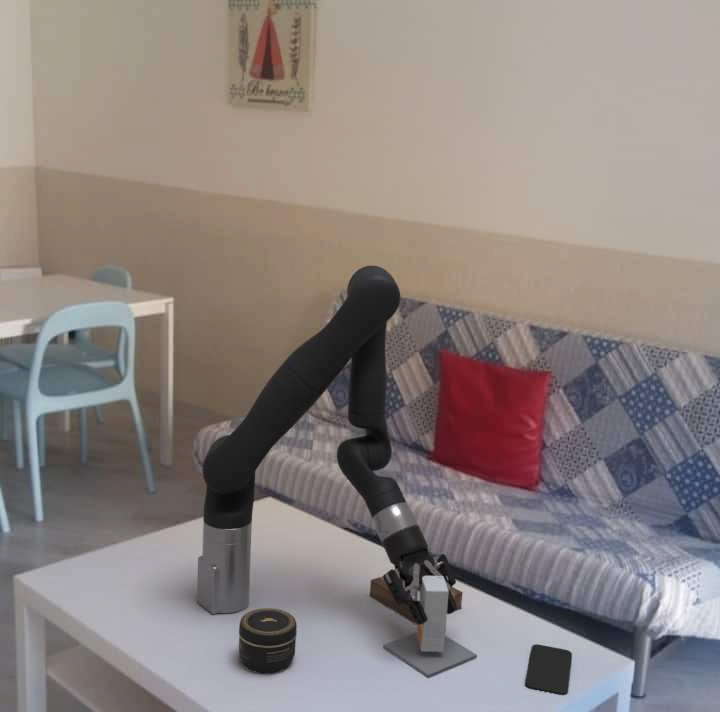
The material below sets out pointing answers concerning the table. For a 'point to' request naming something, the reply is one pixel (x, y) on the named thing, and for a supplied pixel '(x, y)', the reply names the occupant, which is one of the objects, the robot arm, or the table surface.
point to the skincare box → (433, 613)
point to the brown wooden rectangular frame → (384, 596)
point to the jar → (267, 640)
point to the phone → (548, 669)
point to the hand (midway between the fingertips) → (438, 617)
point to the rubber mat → (429, 655)
